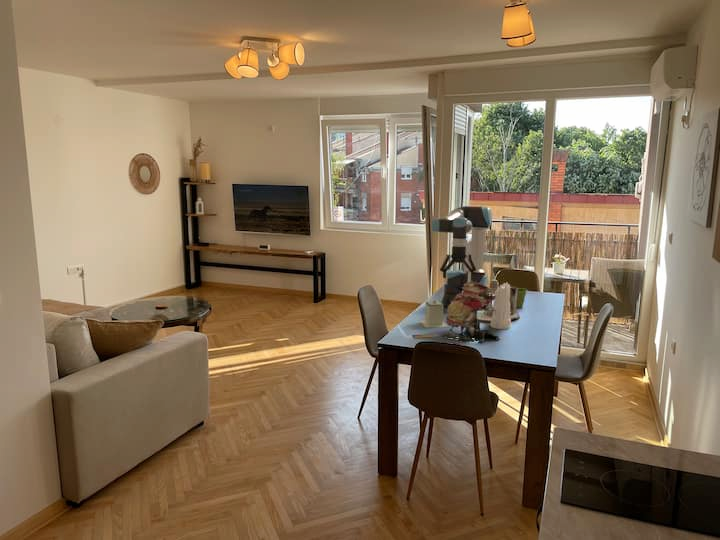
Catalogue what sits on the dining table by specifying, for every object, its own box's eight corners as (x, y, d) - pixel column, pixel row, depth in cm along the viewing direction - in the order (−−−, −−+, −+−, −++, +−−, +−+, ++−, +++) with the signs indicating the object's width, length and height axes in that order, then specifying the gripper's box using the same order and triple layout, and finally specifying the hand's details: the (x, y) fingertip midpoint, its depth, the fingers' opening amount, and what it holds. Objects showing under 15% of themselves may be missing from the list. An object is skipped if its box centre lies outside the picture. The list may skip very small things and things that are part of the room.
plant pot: (524, 304, 347) (525, 288, 345) (527, 309, 335) (529, 292, 333) (505, 304, 348) (506, 287, 346) (508, 308, 336) (510, 291, 334)
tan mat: (408, 329, 289) (408, 328, 289) (427, 329, 291) (427, 328, 291) (414, 338, 274) (414, 337, 274) (435, 337, 275) (435, 336, 275)
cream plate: (419, 322, 304) (420, 316, 303) (441, 321, 305) (442, 316, 305) (425, 328, 291) (425, 322, 290) (448, 328, 293) (448, 322, 292)
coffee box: (499, 312, 328) (500, 286, 325) (501, 309, 333) (503, 285, 330) (514, 314, 324) (515, 288, 321) (516, 311, 329) (518, 286, 326)
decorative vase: (496, 329, 291) (499, 285, 286) (487, 324, 301) (489, 281, 296) (514, 328, 293) (516, 284, 289) (504, 323, 304) (506, 280, 299)
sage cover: (425, 321, 301) (426, 299, 299) (438, 321, 302) (439, 299, 300) (428, 325, 294) (429, 302, 291) (442, 325, 295) (443, 302, 292)
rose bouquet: (459, 326, 297) (462, 274, 291) (504, 338, 275) (508, 282, 270) (429, 335, 280) (431, 280, 274) (474, 349, 258) (477, 289, 253)
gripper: (439, 247, 283) (438, 285, 287) (483, 246, 288) (481, 284, 291) (435, 245, 291) (433, 282, 294) (477, 244, 295) (476, 281, 299)
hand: (457, 283), depth 293 cm, fingers open, 13 cm apart
